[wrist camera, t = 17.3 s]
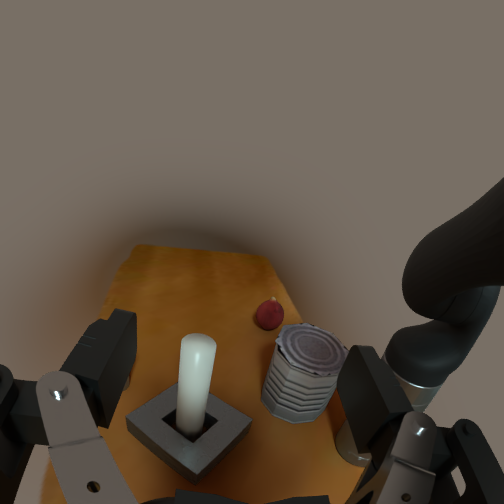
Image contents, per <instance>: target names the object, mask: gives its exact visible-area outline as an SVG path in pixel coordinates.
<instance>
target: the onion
mask: <svg viewBox="0 0 504 504" xmlns="http://www.w3.org/2000/svg"><path fill="white" fill-rule="evenodd" d="M283 317H284V310H283V308H282V306H281V305H280V304H279V303H278V302H277V300H276V299H275V298H274V297H271V300H268V301H265V302H263V303H262V304H261V305H260V306H259V307H258V309H257V312H256V318H257V321H258V323H259V324H260V325H261V326H262V327H263V328H264V329H265V330H270V329H274V328H277V327H278V326H279V325H280V324H281V323H282V321H283Z"/></svg>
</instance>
